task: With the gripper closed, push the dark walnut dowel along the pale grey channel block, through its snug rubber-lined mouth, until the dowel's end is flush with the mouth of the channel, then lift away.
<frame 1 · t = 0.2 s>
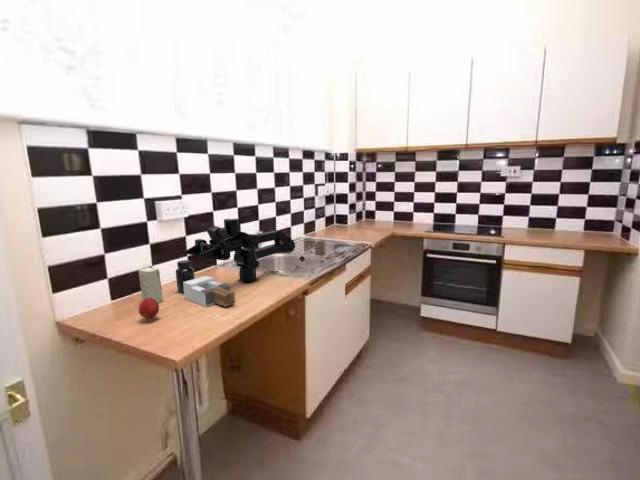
hand: (192, 253, 123), 17 cm above the worktop, tool horizontal, fingers open, 9 cm apart
sleeve: (207, 298, 126), on the worktop
skincare box: (152, 302, 123), on the worktop
supplement bottle: (186, 291, 134), on the worktop
onion: (150, 320, 107), on the worktop
peg: (221, 296, 120), point 3 cm above the worktop, slide at 7.0 cm
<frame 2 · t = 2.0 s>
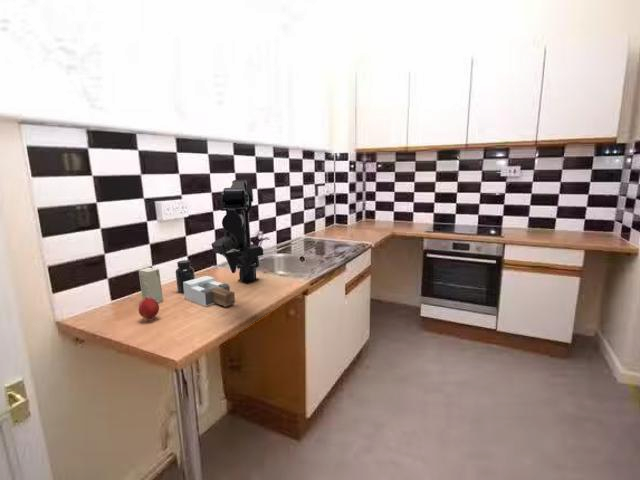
hand: (239, 274, 111), 13 cm above the worktop, tool pointing down, fingers open, 5 cm apart
nothing on the worktop moved.
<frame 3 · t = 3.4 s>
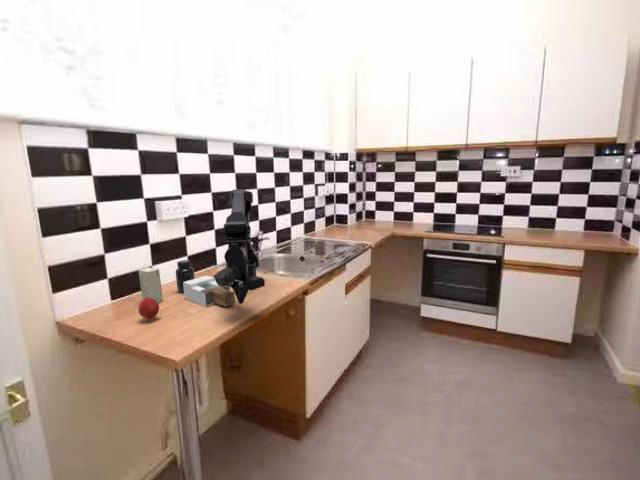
hand: (241, 303, 113), 3 cm above the worktop, tool pointing down, fingers closed
nothing on the worktop moved.
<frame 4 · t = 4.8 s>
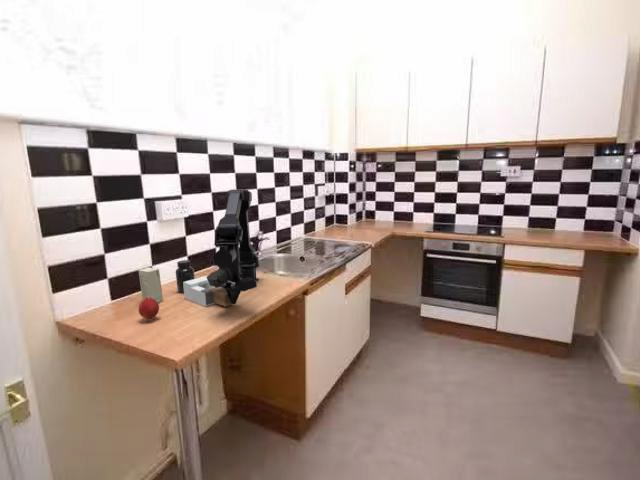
hand: (233, 303, 116), 1 cm above the worktop, tool pointing down, fingers closed
peg: (220, 296, 120), point 3 cm above the worktop, slide at 6.8 cm, touching gripper
everything else where it was.
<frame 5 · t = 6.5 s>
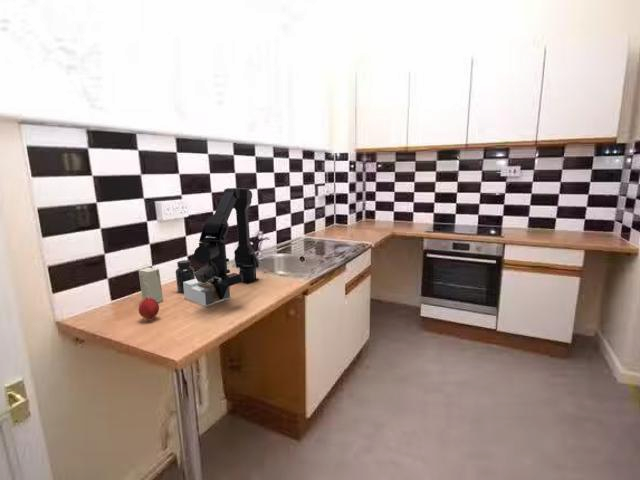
hand: (221, 299, 120), 2 cm above the worktop, tool pointing down, fingers closed
peg: (209, 292, 124), point 3 cm above the worktop, slide at -0.1 cm, touching gripper
everything else where it was.
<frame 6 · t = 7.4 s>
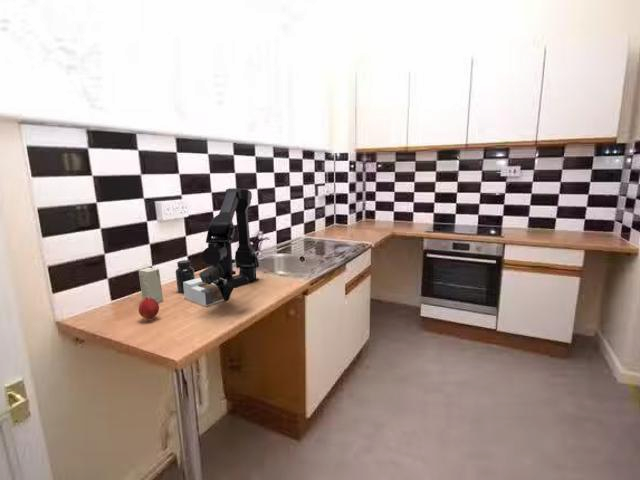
hand: (226, 301, 118), 2 cm above the worktop, tool pointing down, fingers closed
peg: (209, 292, 124), point 3 cm above the worktop, slide at -0.1 cm
everything else where it was.
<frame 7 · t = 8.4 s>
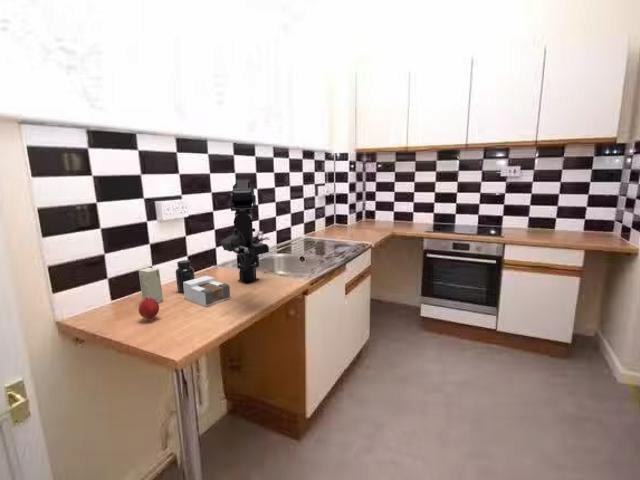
hand: (246, 269, 119), 12 cm above the worktop, tool pointing down, fingers closed
nothing on the worktop moved.
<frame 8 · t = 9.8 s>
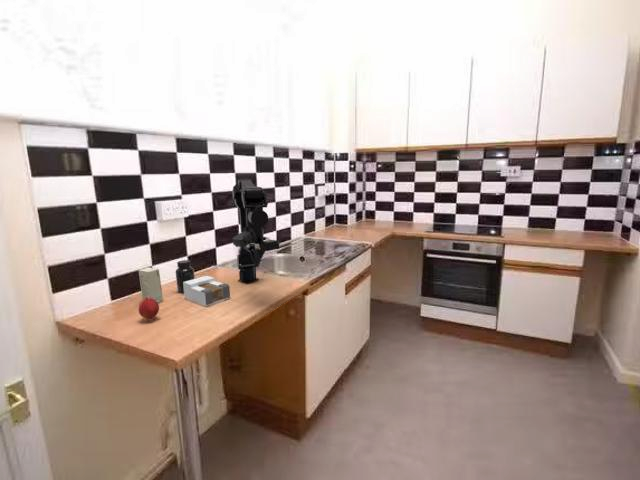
hand: (256, 266, 122), 13 cm above the worktop, tool pointing down, fingers closed
nothing on the worktop moved.
at the end: peg slide at -0.1 cm; peg touching nothing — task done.
